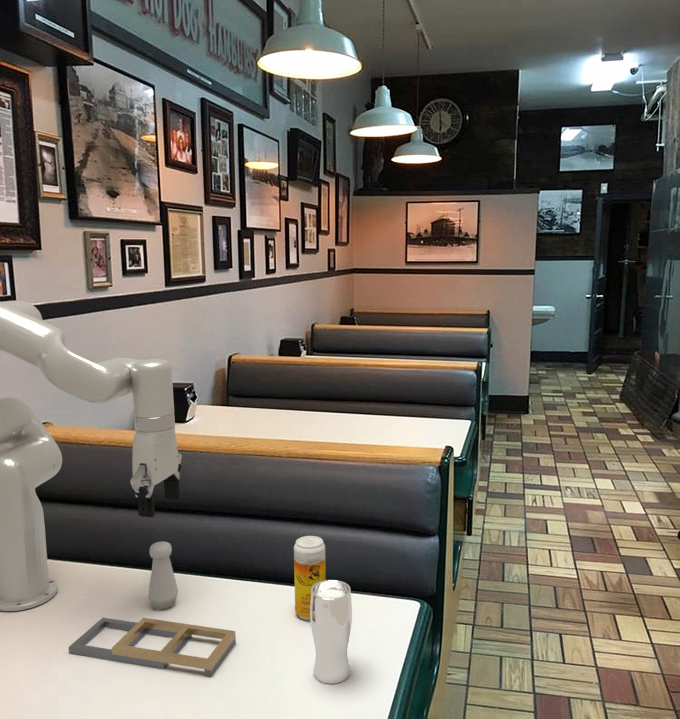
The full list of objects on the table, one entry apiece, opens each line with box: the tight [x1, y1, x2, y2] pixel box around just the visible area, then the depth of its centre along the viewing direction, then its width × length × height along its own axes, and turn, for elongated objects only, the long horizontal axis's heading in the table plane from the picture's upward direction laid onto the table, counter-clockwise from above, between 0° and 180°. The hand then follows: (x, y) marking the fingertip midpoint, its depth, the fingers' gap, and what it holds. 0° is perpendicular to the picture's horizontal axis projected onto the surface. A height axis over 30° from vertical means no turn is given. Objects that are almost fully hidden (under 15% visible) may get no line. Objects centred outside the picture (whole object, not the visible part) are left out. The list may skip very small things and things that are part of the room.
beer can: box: [293, 535, 327, 621], centre depth 126 cm, size 6×6×15 cm
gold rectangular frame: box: [111, 617, 237, 678], centre depth 114 cm, size 19×10×2 cm, turn 75°
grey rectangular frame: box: [68, 617, 193, 670], centre depth 117 cm, size 19×10×1 cm, turn 75°
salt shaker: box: [147, 541, 179, 611], centre depth 130 cm, size 6×6×13 cm
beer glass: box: [309, 579, 353, 685], centre depth 107 cm, size 7×7×15 cm
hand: (160, 507), depth 128 cm, fingers open, 9 cm apart
